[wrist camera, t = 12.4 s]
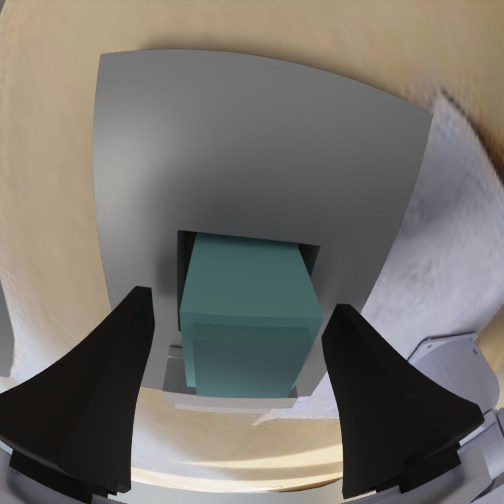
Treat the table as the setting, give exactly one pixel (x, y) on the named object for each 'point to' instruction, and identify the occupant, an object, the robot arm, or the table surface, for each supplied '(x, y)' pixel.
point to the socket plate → (246, 175)
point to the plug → (246, 317)
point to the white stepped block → (188, 400)
